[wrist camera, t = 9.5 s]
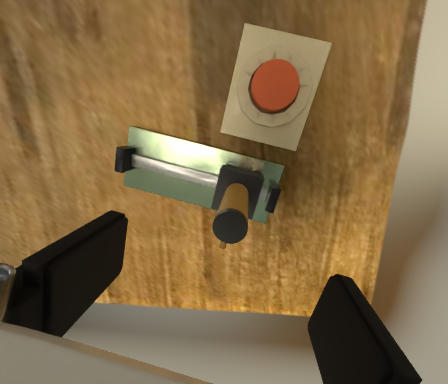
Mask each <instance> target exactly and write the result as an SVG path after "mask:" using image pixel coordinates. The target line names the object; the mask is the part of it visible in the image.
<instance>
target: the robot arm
mask: <svg viewBox="0 0 448 384" xmlns="http://www.w3.org/2000/svg"><path fill="white" fill-rule="evenodd" d="M127 225H128V219H127V218H125V214H123V213H120V212H116V211H112V210H111V211H109V212H107V213H105V214H103V215H102V216H100V217H98V218H96V219H94V220H93V221H91V222H89V223H87V224H86V225H84V226H82V227H80V228H79V229H77V230H75V231H73V232H72V233H70V234H68V235H66V236H64V237H63V238H61V239H59V240H57V241H56V242H54V243H52V244H50V245H49V246H47V247H45V248H43V249H42V250H40V251H38V252H36V253H34V254H33V255H31V256H29V257H27V258H26V259H24V260H22V265H21V266H19V267H17V268H16V269H15V268H14V267H13V266H11V265H8V264H3V263H0V384H212V383H208V382H205V381H202V380H198V379H196V378H192V377H189V376H186V375H183V374H180V373H176V372H173V371H170V370H167V369H163V368H160V367H157V366H154V365H151V364H147V363H144V362H141V361H137V360H134V359H131V358H127V357H124V356H121V355H118V354H114V353H111V352H108V351H105V350H101V349H98V348H95V347H91V346H88V345H85V344H82V343H78V342H75V341H71V340H68V339H64V338H61V337H62V336H63V335H64V334H65V333H66V332H67V331H68V330H69V329H70V328H71V326H72V325H73V324H74V323H75V322H76V321H77V320H78V319H79V318H80V317H81V316H82V314H83V313H84V312H85V311H86V310H87V309H88V308H89V307H90V306H91V305H92V304H93V302H94V301H95V300H96V299H97V298H98V297H99V296H100V295H101V294H102V293H103V292H104V290H105V289H106V288H107V287H108V286H109V285H110V284H111V283H112V282H113V281H114V279H115V278H116V277H117V276H118V275H119V274H120V272H121V270H122V266H123V258H124V249H125V241H126V233H127ZM308 332H309V336H310V339H311V342H312V346H313V350H314V353H315V356H316V359H317V363H318V367H319V370H320V374H321V377H322V381H323V384H420V383H421V381H422V379H421V377H420V376H419V374H418V373H417V372H416V370H415V369H414V367H413V366H412V364H411V363H410V362H409V360H408V359H407V357H406V356H405V354H404V353H403V351H402V350H401V349H400V347H399V346H398V344H397V343H396V341H395V340H394V338H393V337H392V336H391V334H390V333H389V331H388V330H387V328H386V327H385V326H384V324H383V323H382V321H381V320H380V319H379V317H378V315H377V314H376V313H375V311H374V310H373V308H372V307H371V305H370V304H369V302H368V301H367V300H366V298H365V297H364V295H363V294H362V292H361V291H360V289H359V288H358V287H357V285H356V284H355V282H354V281H353V279H352V278H350V277H346V276H343V275H339V274H335V275H334V276H331V277H330V278H329V280H328V282H327V284H326V286H325V288H324V290H323V292H322V294H321V296H320V299H319V301H318V303H317V305H316V307H315V309H314V311H313V313H312V315H311V318H310V320H309V322H308Z"/></svg>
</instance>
